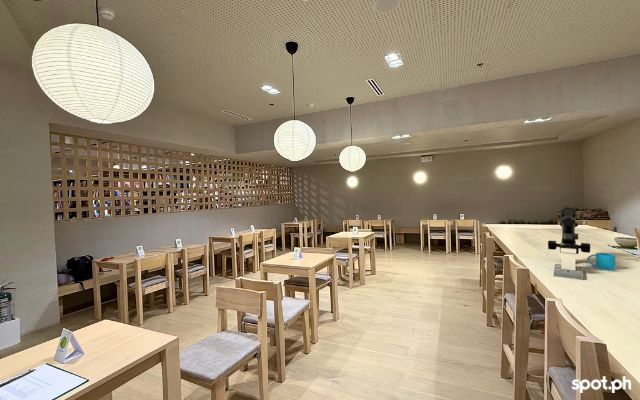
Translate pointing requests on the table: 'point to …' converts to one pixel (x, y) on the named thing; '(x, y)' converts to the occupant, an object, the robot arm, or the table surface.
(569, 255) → the cream lidded box
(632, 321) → the table surface
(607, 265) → the mug
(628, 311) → the table surface
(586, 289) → the table surface
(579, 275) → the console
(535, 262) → the table surface
